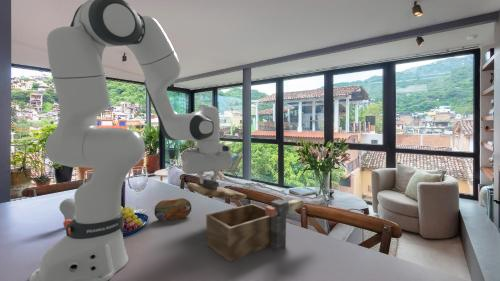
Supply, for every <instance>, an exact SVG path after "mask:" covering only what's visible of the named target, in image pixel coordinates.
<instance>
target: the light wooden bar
mask: <svg viewBox="0 0 500 281" xmlns="http://www.w3.org/2000/svg"><path fill="white" fill-rule="evenodd" d="M287 202H289V212H291V211H293V210H297V209H301V208H303V207H304V200H303V199H300V198H295V199H291V200H288V201H287ZM264 208H265V214H266V215H268V216H271V217H273V216H275V215H278V207H277V206H274V205H267V206H265V207H264Z"/></svg>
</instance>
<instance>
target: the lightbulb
mask: <svg viewBox="0 0 500 281" xmlns="http://www.w3.org/2000/svg"><path fill="white" fill-rule="evenodd" d="M59 204H60V205H59V207H58V208H59V211H60V212H61V214H62V215H63V217H64V221H65V220H66V219H71V220H74V219H75V200H74V198H72V197H71V198H65V199H64V200H62V201H61V203H59Z"/></svg>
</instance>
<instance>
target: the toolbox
mask: <svg viewBox="0 0 500 281" xmlns="http://www.w3.org/2000/svg"><path fill="white" fill-rule="evenodd" d="M270 204H271V205H270V206H272V205H274V206H277V207H278V215H275V216H273V217H271V216H268V215H266V214H265V207H262V206H260V205H257V204H254V203H249V204H246V205H242V206H237V207H233V208H230V209H225V210H221V211H216V212H212V213H209V214H206V216H205V218H206V220H205V222H206V223H205V225H206V227H205V231H206V232H205V233H206V236H205V237H206V238H205V240H206V242H205V244H206V245H207V246H209V248H211V249H213V250H214V251H215V252H216V253H217V254H218V255H220V256H222V258H224V259H226V261H228V262H229V263H230V262H233V261H235V260H238V259H240V258H243V257H245V256H248V255H250V254H253V253H255V252H258V251H261V250H263V249H265V248H267V247H271V248H272V249H274V250H276V251H278V250H281V249H283V248H285V247H286V242H287V238H286V237H287V235H286V234H287V215H289V214H290V211H289V202H287V201H286V200H283V199H276V200H272V201H270Z"/></svg>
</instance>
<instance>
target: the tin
mask: <svg viewBox="0 0 500 281" xmlns="http://www.w3.org/2000/svg"><path fill="white" fill-rule="evenodd" d="M191 212H192V204H191V202H190V201H189V200H188V199H187V198H184V197H180V198H179V197H178V198H172V199H163V200H160V201H159V202H157V203H156V205H155V207H154V212H153V214H154V216H155V218H156V219H157V220H159V221H161V222H167V221H174V220H181V219H185V218H187V217H188V216H189V215H190V214H191Z"/></svg>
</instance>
